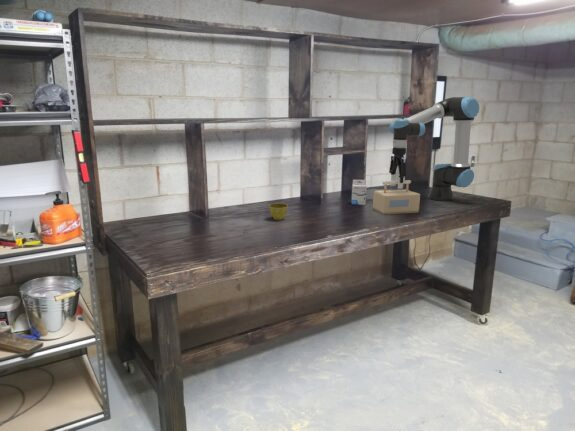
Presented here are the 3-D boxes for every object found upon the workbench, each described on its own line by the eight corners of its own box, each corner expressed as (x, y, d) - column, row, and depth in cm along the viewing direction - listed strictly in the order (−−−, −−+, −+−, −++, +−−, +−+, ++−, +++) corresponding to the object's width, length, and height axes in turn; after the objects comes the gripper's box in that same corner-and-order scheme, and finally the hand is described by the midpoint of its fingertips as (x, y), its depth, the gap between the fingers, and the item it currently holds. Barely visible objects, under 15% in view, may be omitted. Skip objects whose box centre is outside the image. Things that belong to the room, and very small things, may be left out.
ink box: (351, 204, 271) (352, 180, 267) (351, 202, 275) (352, 179, 272) (365, 205, 270) (366, 181, 266) (365, 203, 275) (366, 179, 271)
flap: (406, 190, 263) (407, 178, 262) (412, 192, 256) (414, 180, 255) (374, 191, 258) (375, 179, 256) (380, 194, 251) (381, 181, 249)
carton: (406, 207, 266) (407, 189, 263) (418, 212, 253) (420, 194, 250) (372, 208, 260) (373, 191, 258) (383, 214, 247) (385, 195, 244)
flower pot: (268, 220, 231) (268, 207, 229) (269, 216, 240) (269, 203, 239) (287, 221, 231) (287, 207, 229) (287, 216, 240) (287, 203, 239)
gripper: (384, 145, 257) (382, 184, 263) (402, 149, 237) (399, 190, 243) (396, 145, 259) (393, 183, 264) (415, 149, 239) (411, 190, 245)
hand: (396, 186), depth 254 cm, fingers open, 8 cm apart
